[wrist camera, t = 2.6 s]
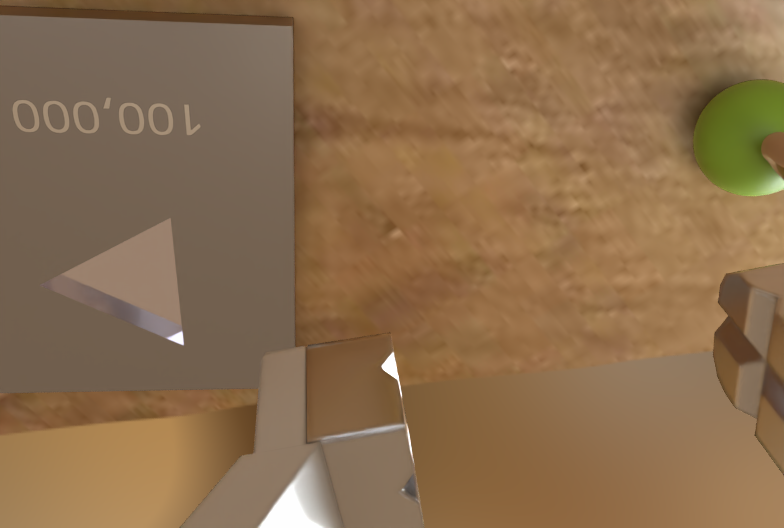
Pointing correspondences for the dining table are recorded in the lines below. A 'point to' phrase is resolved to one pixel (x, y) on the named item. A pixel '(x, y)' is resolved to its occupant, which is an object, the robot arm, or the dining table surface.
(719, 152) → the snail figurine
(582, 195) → the dining table surface
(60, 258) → the play button award
